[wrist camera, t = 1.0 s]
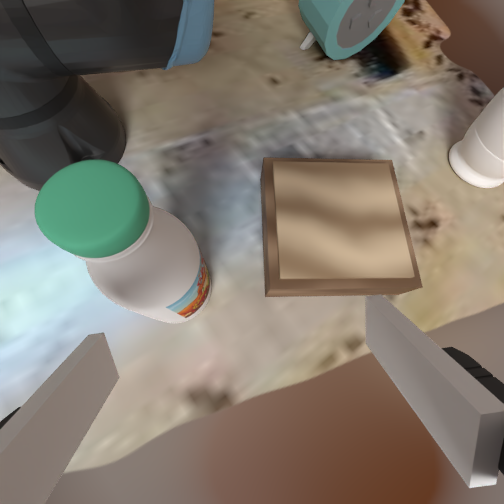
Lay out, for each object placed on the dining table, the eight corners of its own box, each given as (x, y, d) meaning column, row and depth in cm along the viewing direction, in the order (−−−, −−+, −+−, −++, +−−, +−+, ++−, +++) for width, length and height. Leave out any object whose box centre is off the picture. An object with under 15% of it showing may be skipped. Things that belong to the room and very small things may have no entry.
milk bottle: (168, 338, 29) (39, 326, 10) (130, 283, 30) (-41, 182, 11) (225, 295, 31) (210, 214, 12) (187, 245, 32) (120, 105, 13)
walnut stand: (260, 179, 36) (264, 154, 31) (374, 180, 37) (394, 156, 32) (265, 296, 31) (270, 287, 26) (398, 294, 32) (426, 285, 27)
